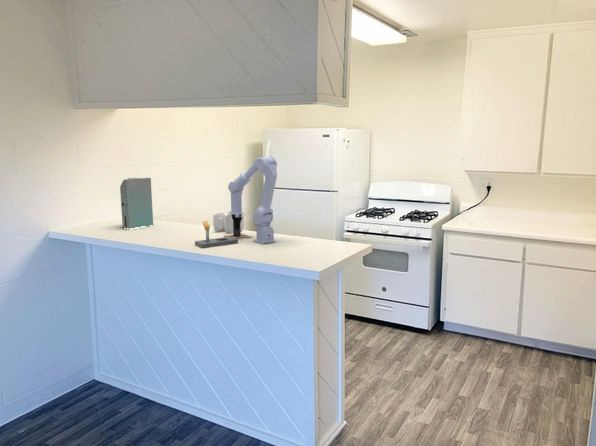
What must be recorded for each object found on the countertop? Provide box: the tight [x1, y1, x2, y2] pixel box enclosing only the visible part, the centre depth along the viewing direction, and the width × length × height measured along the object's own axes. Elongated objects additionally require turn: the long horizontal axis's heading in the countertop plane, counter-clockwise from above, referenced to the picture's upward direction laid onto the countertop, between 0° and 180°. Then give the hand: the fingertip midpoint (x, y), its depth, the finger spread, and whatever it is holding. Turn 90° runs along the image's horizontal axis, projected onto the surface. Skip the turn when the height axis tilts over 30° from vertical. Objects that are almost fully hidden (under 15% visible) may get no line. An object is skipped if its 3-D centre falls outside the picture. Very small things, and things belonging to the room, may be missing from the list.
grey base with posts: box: [194, 229, 239, 249], centre depth 250 cm, size 9×20×8 cm, turn 125°
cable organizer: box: [212, 209, 245, 234], centre depth 284 cm, size 15×11×12 cm
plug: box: [232, 221, 242, 237], centre depth 268 cm, size 4×4×8 cm
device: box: [119, 177, 154, 229], centre depth 296 cm, size 16×8×30 cm, turn 141°
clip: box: [202, 220, 211, 230], centre depth 252 cm, size 13×3×2 cm, turn 15°
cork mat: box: [223, 233, 252, 240], centre depth 268 cm, size 11×11×1 cm
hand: (236, 228), depth 268 cm, fingers open, 7 cm apart
